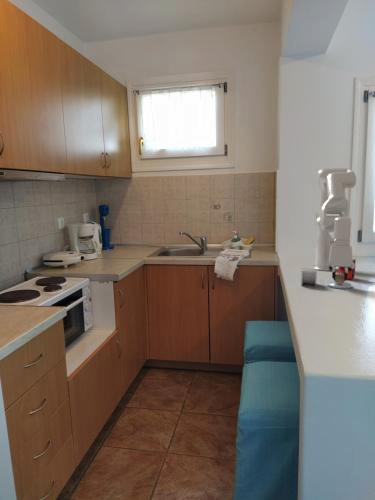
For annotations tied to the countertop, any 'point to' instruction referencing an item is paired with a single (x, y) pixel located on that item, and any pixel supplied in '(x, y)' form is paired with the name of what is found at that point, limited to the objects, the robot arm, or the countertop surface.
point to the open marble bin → (309, 276)
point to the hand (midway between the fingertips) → (339, 279)
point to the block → (339, 278)
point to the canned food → (350, 274)
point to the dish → (339, 285)
